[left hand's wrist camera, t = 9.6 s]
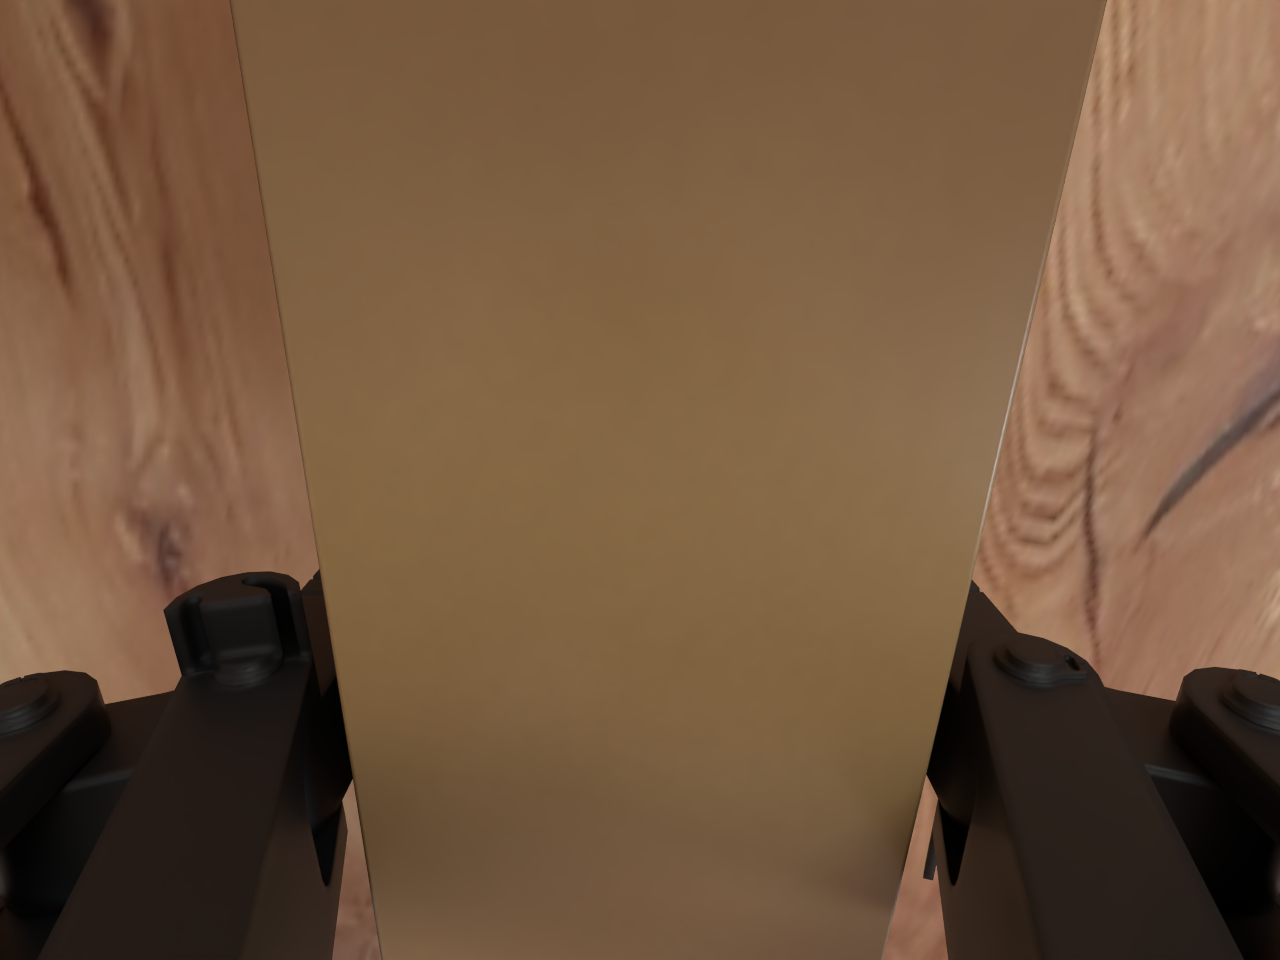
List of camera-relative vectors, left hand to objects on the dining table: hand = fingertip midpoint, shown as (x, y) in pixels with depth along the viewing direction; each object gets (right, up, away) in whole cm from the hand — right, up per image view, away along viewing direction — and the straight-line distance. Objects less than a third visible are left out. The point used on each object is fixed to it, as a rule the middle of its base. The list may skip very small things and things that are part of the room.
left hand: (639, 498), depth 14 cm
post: (+1, +20, -7) cm, 21 cm away
